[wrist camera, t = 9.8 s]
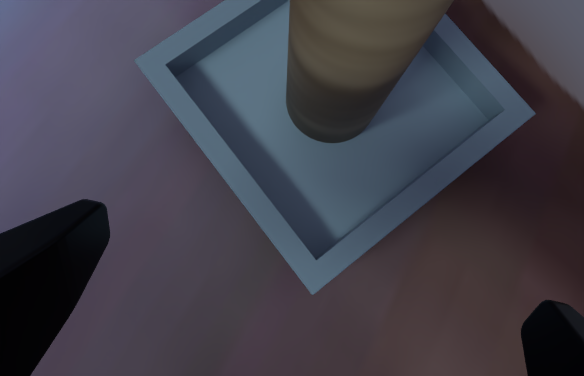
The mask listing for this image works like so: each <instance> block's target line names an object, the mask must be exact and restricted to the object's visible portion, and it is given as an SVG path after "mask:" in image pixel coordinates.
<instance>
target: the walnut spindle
mask: <svg viewBox="0 0 584 376" xmlns="http://www.w3.org/2000/svg"><path fill="white" fill-rule="evenodd" d="M453 1H454V0H290V9H289V34H288V59H287V84H286V106H287V110H288V114H289V116H290V118H291V120H292V122H293V123H294V125H295V126H296V127H297V128H298V129H299V130H300V131H301V132H302V133H303V134H305V135H306V136H308V137H310V138H311V139H314V140H316V141H320V142H324V143H341V142H345V141H348V140H350V139H352V138H354V137H356V136H358V135H359V134H360V133H362V132H363V131H364V130H365V129H366V127H367V126H368V125H369V123H370V122H371V120H372V119H373V117H374V116H375V115H376V113H377V112H378V110H379V109H380V107H381V106H382V104H383V103H384V101H385V100H386V99H387V97H388V96H389V94H390V93H391V91H392V90H393V88H394V87H395V85H396V84H397V83H398V81H399V80H400V78H401V77H402V75H403V74H404V72H405V71H406V70H407V68H408V67H409V65H410V64H411V62H412V61H413V59H414V58H415V56H416V55H417V54H418V52H419V51H420V49H421V48H422V46H423V45H424V43H425V42H426V40H427V39H428V38H429V36H430V35H431V33H432V32H433V30H434V29H435V27H436V26H437V24H438V23H439V22H440V20H441V19H442V17H443V16H444V14H445V13H446V11H447V10H448V8H449V7H450V6H451V4H452V3H453Z"/></svg>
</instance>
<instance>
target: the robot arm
mask: <svg viewBox="0 0 584 376" xmlns="http://www.w3.org/2000/svg"><path fill="white" fill-rule="evenodd" d="M109 238H110V228H109V221H108V214H107V208H106V206H105V204H103V203H102V202H97V201H93V200H88V199H82V200H79V201H77V202H74V203H72V204H70V205H67V206H65V207H63V208H60V209H58V210H55V211H53V212H51V213H48V214H46V215H43V216H41V217H39V218H36V219H34V220H31V221H29V222H27V223H24V224H22V225H20V226H17V227H15V228H12V229H10V230H8V231H5V232H3V233H0V376H30V375H31V374H32V372H33V371H34V369H35V368H36V366H37V365H38V363H39V362H40V360H41V359H42V357H43V356H44V354H45V353H46V351H47V350H48V348H49V347H50V345H51V343H52V342H53V340H54V339H55V337H56V336H57V334H58V333H59V331H60V330H61V328H62V327H63V325H64V324H65V322H66V321H67V319H68V318H69V316H70V314H71V313H72V311H73V310H74V308H75V306H76V304H77V302H78V301H79V299H80V297H81V295H82V293H83V291H84V289H85V287H86V285H87V283H88V281H89V279H90V278H91V276H92V274H93V272H94V270H95V268H96V266H97V264H98V262H99V260H100V258H101V256H102V254H103V252H104V250H105V248H106V246H107V244H108V242H109ZM521 338H522V344H523V350H524V356H525V362H526V368H527V374H528V376H584V317H583V316H581V315H580V314H579V313H578V312H577V311H576V310H575V309H573V308H572V307H571V306H570V305H568V304H565V303H561V302H556V301H552V300H545V301H543V302H541V303H540V304H539V305H538V306H537V308H536V309H535V310H534V311H533V312H532V313H531V314H530V316H529V317H528V318H527V319H526V320H525V321H524V323H523V325H522V328H521Z"/></svg>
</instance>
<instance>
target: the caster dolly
mask: <svg viewBox="0 0 584 376" xmlns="http://www.w3.org/2000/svg"><path fill="white" fill-rule="evenodd" d="M289 9H290V0H225V1H223V2H222V3H220V4H219V5H217V6H216V7H214V8H213V9H211V10H209V11H208V12H206V13H205V14H203V15H202V16H200V17H199V18H197V19H196V20H194V21H193V22H191V23H190V24H188V25H187V26H185V27H184V28H182V29H181V30H179V31H178V32H176V33H175V34H173V35H172V36H170V37H169V38H167V39H166V40H164V41H163V42H161V43H160V44H158V45H157V46H155V47H153V48H152V49H150V50H149V51H147V52H146V53H144V54H143V55H141V56H140V57H138V58H137V59H135V60H134V61H135V63H136V64H137V65H138V66H139V68H140V69H141V70H142V72H143V73H144V74H145V76H146V77H147V78H148V80H149V81H150V82H151V84H152V85H153V86H154V88H155V89H156V90H157V92H158V93H159V94H160V96H161V97H162V98H163V100H164V101H165V102H166V103H167V105H168V106H169V107H170V109H171V110H172V111H173V113H174V114H175V115H176V117H177V118H178V119H179V121H180V122H181V123H182V124H183V126H184V127H185V128H186V130H187V131H188V132H189V134H190V135H191V136H192V138H193V139H194V140H195V142H196V143H197V144H198V146H199V147H200V148H201V149H202V151H203V152H204V153H205V155H206V156H207V157H208V159H209V160H210V161H211V163H212V164H213V165H214V167H215V168H216V169H217V171H218V172H219V173H220V174H221V176H222V177H223V178H224V180H225V181H226V182H227V184H228V185H229V186H230V188H231V189H232V190H233V192H234V193H235V194H236V196H237V197H238V198H239V199H240V201H241V202H242V203H243V205H244V206H245V207H246V209H247V210H248V211H249V213H250V214H251V215H252V217H253V218H254V219H255V220H256V222H257V223H258V224H259V226H260V227H261V228H262V230H263V231H264V232H265V234H266V235H267V236H268V238H269V239H270V240H271V242H272V243H273V244H274V245H275V247H276V248H277V249H278V251H279V252H280V253H281V255H282V256H283V257H284V259H285V260H286V261H287V263H288V264H289V265H290V267H291V268H292V269H293V270H294V272H295V273H296V274H297V276H298V277H299V278H300V280H301V281H302V282H303V284H304V285H305V286H306V288H307V289H308V290H309V291H310V293H311V294H312V295H313V294H315V293H316V292H317V291H318V290H320V289H321V288H322V287H323V286H324V285H326V284H327V283H328V282H329V281H331V280H332V279H333V278H334V277H336V276H337V275H338V274H339V273H340V272H342V271H343V270H344V269H345V268H347V267H348V266H349V265H350V264H351V263H353V262H354V261H355V260H356V259H358V258H359V257H360V256H361V255H363V254H364V253H365V252H366V251H367V250H369V249H370V248H371V247H372V246H374V245H375V244H376V243H377V242H379V241H380V240H381V239H382V238H383V237H385V236H386V235H387V234H388V233H390V232H391V231H392V230H393V229H395V228H396V227H397V226H398V225H399V224H401V223H402V222H403V221H404V220H406V219H407V218H408V217H409V216H411V215H412V214H413V213H414V212H415V211H417V210H418V209H419V208H420V207H422V206H423V205H424V204H425V203H427V202H428V201H429V200H430V199H431V198H433V197H434V196H435V195H436V194H438V193H439V192H440V191H441V190H443V189H444V188H445V187H446V186H447V185H449V184H450V183H451V182H452V181H454V180H455V179H456V178H457V177H458V176H460V175H461V174H462V173H463V172H465V171H466V170H467V169H468V168H470V167H471V166H472V165H473V164H474V163H476V162H477V161H478V160H479V159H481V158H482V157H483V156H484V155H486V154H487V153H488V152H489V151H490V150H492V149H493V148H494V147H495V146H497V145H498V144H499V143H500V142H502V141H503V140H504V139H505V138H506V137H508V136H509V135H510V134H511V133H513V132H514V131H515V130H516V129H518V128H519V127H520V126H521V125H522V124H524V123H525V122H526V121H527V120H529V119H530V118H531V117H532V116H534V115H535V114H536V113H535V112H534V111H533V110H532V109H531V108H530V107H529V105H528V104H527V103H526V102H525V101H524V100H523V99H522V98H521V97H520V96H519V94H518V93H517V92H516V91H515V90H514V89H513V88H512V87H511V86H510V84H509V83H508V82H507V81H506V80H505V79H504V78H503V77H502V76H501V74H500V73H499V72H498V71H497V70H496V69H495V68H494V67H493V66H492V65H491V63H490V62H489V61H488V60H487V59H486V58H485V57H484V56H483V55H482V53H481V52H480V51H479V50H478V49H477V48H476V47H475V46H474V45H473V44H472V42H471V41H470V40H469V39H468V38H467V37H466V36H465V35H464V34H463V32H462V31H461V30H460V29H459V28H458V27H457V26H456V25H455V24H454V23H453V21H452V20H451V19H450V18H449V17H448V16H447V15H446V14H444V16H443V17H442V19H441V20H440V22H439V23H438V24H437V26H436V27H435V29H434V30H433V32H432V33H431V35H430V36H429V38H428V39H427V40H426V42H425V43H424V45H423V46H422V48H421V49H420V51H419V52H418V54H417V55H416V56H415V58H414V59H413V61H412V62H411V64H410V65H409V67H408V68H407V70H406V71H405V72H404V74H403V75H402V77H401V78H400V80H399V81H398V83H397V84H396V85H395V87H394V88H393V90H392V91H391V93H390V94H389V96H388V97H387V99H386V100H385V101H384V103H383V104H382V106H381V107H380V109H379V110H378V112H377V113H376V115H375V116H374V117H373V119H372V120H371V122H370V123H369V125H368V126H367V127H366V129H365V130H364V131H363V132H362V133H360V134H359V135H358V136H356V137H354V138H352V139H350V140H348V141H345V142H341V143H324V142H320V141H316V140H314V139H311V138H310V137H308V136H306V135H305V134H303V133H302V132H301V131H300V130H299V129H298V128H297V127H296V126H295V125H294V123H293V122H292V120H291V118H290V116H289V114H288V110H287V106H286V84H287V59H288V34H289Z"/></svg>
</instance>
